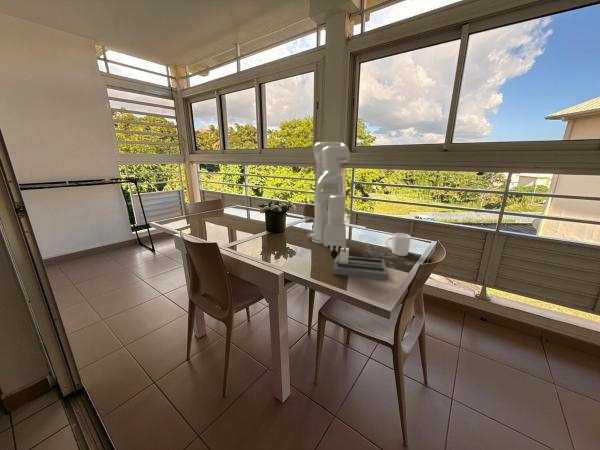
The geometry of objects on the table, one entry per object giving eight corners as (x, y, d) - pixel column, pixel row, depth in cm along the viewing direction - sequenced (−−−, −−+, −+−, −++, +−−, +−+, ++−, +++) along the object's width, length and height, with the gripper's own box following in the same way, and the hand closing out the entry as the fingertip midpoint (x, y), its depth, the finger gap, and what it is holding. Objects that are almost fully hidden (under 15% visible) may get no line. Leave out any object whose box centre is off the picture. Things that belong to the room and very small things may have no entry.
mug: (386, 248, 142) (388, 231, 139) (408, 252, 137) (410, 234, 134) (384, 253, 134) (386, 235, 131) (407, 257, 129) (410, 238, 126)
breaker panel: (332, 274, 110) (333, 266, 109) (335, 259, 125) (335, 252, 124) (387, 280, 106) (388, 271, 104) (383, 264, 121) (384, 257, 119)
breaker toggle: (339, 263, 114) (340, 251, 112) (340, 258, 119) (340, 246, 118) (347, 264, 113) (348, 252, 111) (348, 259, 119) (349, 247, 117)
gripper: (318, 222, 110) (317, 259, 115) (352, 224, 107) (349, 262, 112) (321, 218, 117) (319, 253, 122) (352, 220, 114) (349, 256, 119)
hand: (334, 257), depth 117 cm, fingers closed
